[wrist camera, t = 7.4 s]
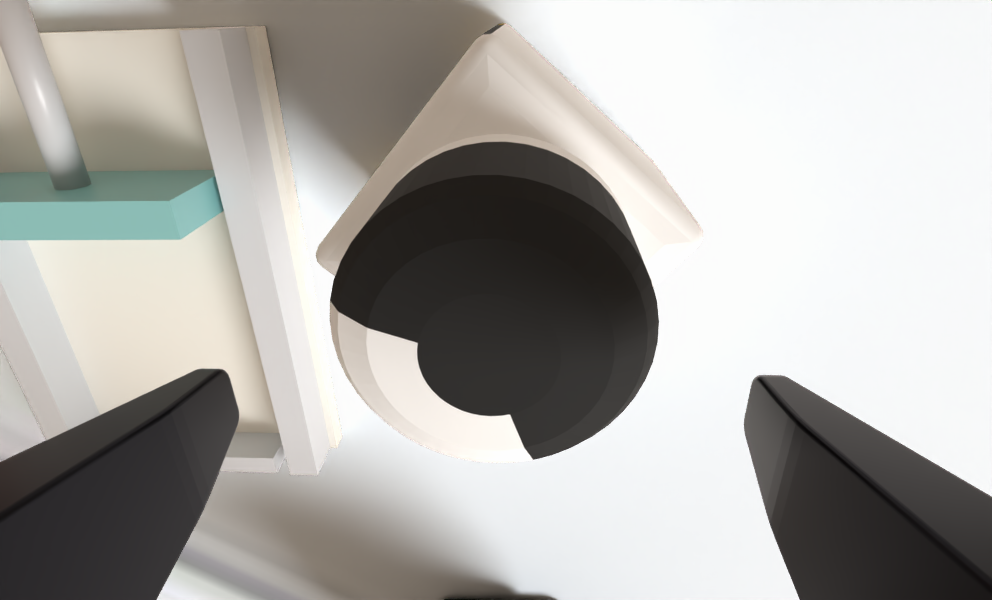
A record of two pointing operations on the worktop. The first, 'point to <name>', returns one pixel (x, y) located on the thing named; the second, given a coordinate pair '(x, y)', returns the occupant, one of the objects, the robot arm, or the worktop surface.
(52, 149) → the pusher
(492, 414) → the medicine bottle
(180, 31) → the lane
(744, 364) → the worktop surface
